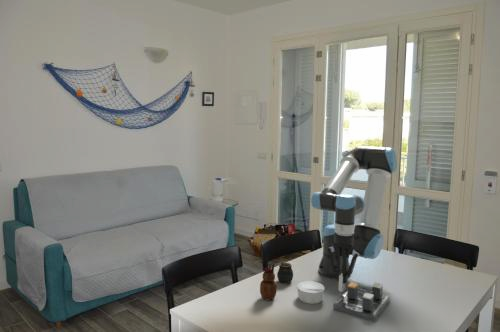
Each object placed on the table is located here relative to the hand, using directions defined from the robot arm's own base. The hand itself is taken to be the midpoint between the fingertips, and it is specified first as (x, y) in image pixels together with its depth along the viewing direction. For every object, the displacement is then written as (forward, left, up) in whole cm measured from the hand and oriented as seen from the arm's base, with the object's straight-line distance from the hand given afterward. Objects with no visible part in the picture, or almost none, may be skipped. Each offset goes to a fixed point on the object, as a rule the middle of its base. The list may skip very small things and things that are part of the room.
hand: (341, 290), depth 159 cm
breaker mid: (+5, 0, -2) cm, 5 cm away
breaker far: (+13, +6, -2) cm, 14 cm away
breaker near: (+13, -6, -2) cm, 14 cm away
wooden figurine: (-24, -17, -4) cm, 30 cm away
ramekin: (-10, -7, -4) cm, 13 cm away
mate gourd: (-27, +2, -4) cm, 28 cm away
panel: (+9, 0, -4) cm, 9 cm away
